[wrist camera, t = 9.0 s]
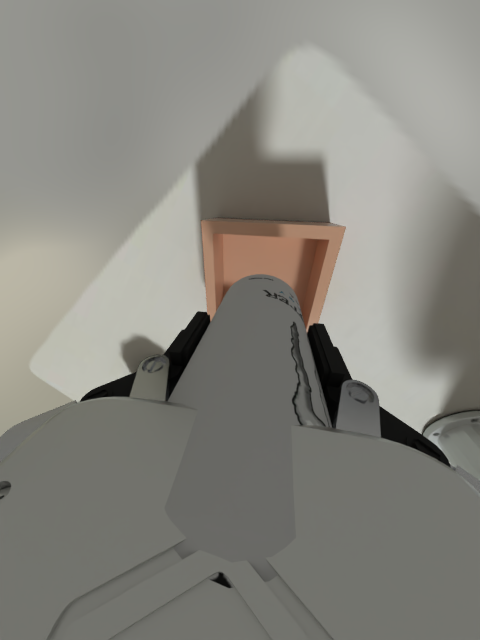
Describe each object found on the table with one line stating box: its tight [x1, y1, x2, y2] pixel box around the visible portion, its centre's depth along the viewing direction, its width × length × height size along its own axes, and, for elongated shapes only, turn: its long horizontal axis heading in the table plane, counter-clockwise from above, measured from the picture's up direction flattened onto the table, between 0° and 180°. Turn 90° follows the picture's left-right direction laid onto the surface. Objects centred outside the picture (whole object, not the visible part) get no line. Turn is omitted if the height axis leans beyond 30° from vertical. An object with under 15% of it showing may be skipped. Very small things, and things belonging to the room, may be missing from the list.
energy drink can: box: [165, 274, 332, 588], centre depth 9 cm, size 6×6×15 cm
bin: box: [201, 218, 346, 332], centre depth 21 cm, size 12×12×5 cm
